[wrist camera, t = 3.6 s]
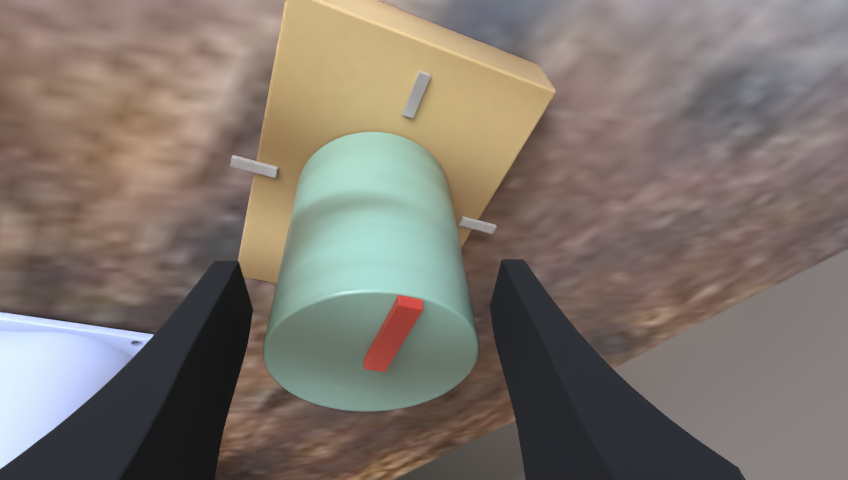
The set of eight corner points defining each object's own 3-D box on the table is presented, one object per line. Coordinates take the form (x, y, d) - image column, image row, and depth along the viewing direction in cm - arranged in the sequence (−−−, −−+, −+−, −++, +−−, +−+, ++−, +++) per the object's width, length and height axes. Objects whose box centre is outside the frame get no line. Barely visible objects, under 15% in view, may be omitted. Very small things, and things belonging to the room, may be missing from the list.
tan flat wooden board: (433, 281, 22) (437, 317, 21) (228, 238, 19) (214, 275, 18) (558, 72, 16) (579, 101, 14) (271, -43, 13) (256, -22, 11)
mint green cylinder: (417, 263, 18) (432, 431, 13) (284, 233, 17) (245, 411, 12) (474, 157, 15) (521, 327, 10) (316, 108, 14) (282, 281, 9)
